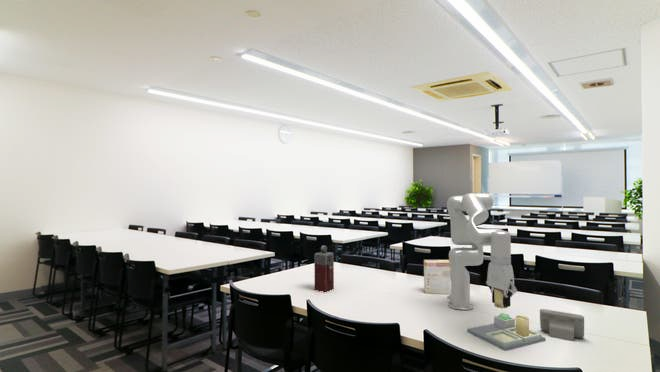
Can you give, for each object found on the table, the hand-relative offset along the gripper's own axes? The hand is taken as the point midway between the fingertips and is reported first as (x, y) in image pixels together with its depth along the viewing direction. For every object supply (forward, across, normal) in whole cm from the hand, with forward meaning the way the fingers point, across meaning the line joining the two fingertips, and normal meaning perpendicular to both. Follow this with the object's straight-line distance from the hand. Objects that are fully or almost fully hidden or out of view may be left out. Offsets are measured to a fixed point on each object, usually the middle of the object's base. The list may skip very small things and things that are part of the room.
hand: (501, 303), depth 146 cm
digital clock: (+16, +6, +29) cm, 33 cm away
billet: (+1, 0, 0) cm, 1 cm away
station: (+16, -3, +6) cm, 17 cm away
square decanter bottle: (+16, -98, -40) cm, 107 cm away
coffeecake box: (+16, -66, +21) cm, 72 cm away
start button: (+14, -9, +12) cm, 20 cm away
